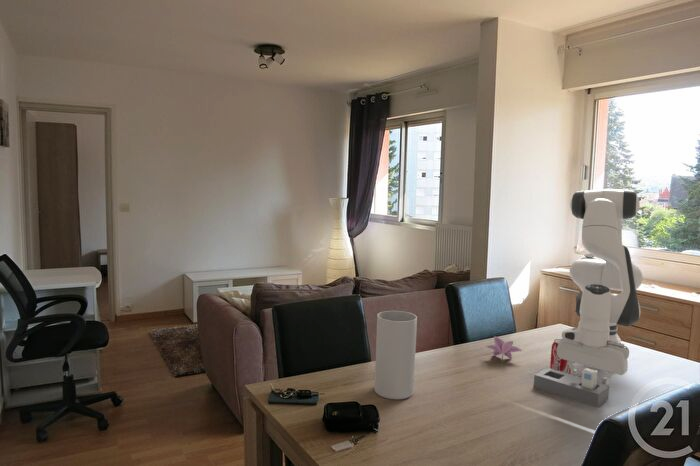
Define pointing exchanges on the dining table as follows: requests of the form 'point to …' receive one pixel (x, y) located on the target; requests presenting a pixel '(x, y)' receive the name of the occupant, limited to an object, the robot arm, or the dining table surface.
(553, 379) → the socket block
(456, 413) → the dining table surface
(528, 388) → the dining table surface
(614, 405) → the dining table surface
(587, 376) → the plug
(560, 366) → the soda can
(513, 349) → the lily
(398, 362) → the cylinder vase
